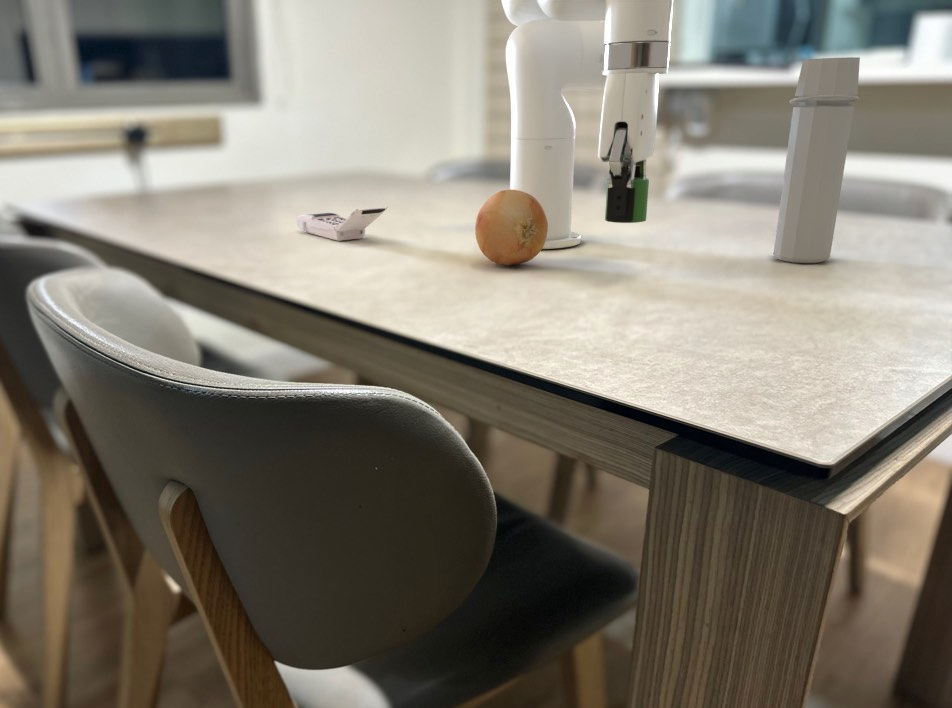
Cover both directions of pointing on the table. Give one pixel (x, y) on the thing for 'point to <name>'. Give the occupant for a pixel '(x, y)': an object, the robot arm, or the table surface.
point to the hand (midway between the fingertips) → (625, 217)
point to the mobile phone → (339, 224)
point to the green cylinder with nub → (637, 199)
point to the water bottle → (816, 158)
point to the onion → (511, 227)
